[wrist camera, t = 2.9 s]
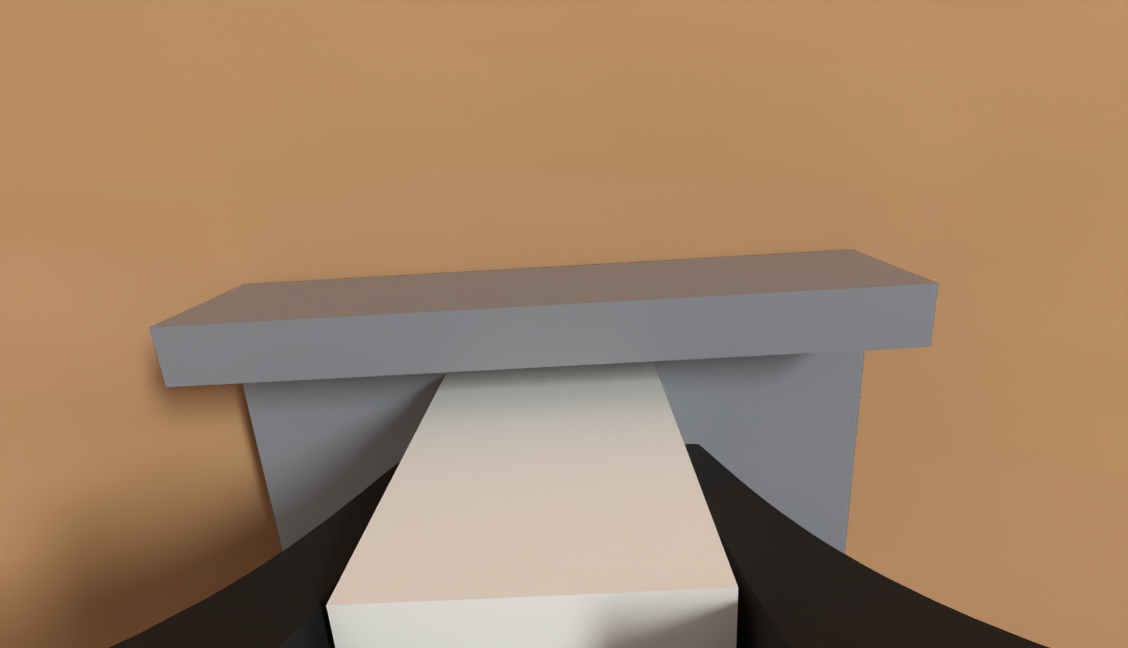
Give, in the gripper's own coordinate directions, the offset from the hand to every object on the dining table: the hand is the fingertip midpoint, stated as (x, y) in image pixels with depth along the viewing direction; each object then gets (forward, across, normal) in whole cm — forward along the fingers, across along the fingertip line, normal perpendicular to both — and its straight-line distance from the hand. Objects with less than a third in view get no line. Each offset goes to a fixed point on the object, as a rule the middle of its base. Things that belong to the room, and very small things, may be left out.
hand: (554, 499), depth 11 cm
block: (+1, 0, 0) cm, 1 cm away
